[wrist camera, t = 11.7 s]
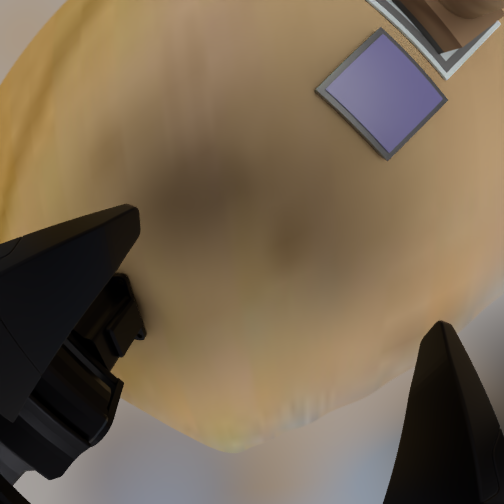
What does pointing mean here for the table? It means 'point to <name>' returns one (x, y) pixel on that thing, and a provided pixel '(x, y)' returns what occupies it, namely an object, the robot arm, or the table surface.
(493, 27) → the white flat square
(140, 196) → the table surface
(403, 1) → the stamp
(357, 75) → the ink pad
